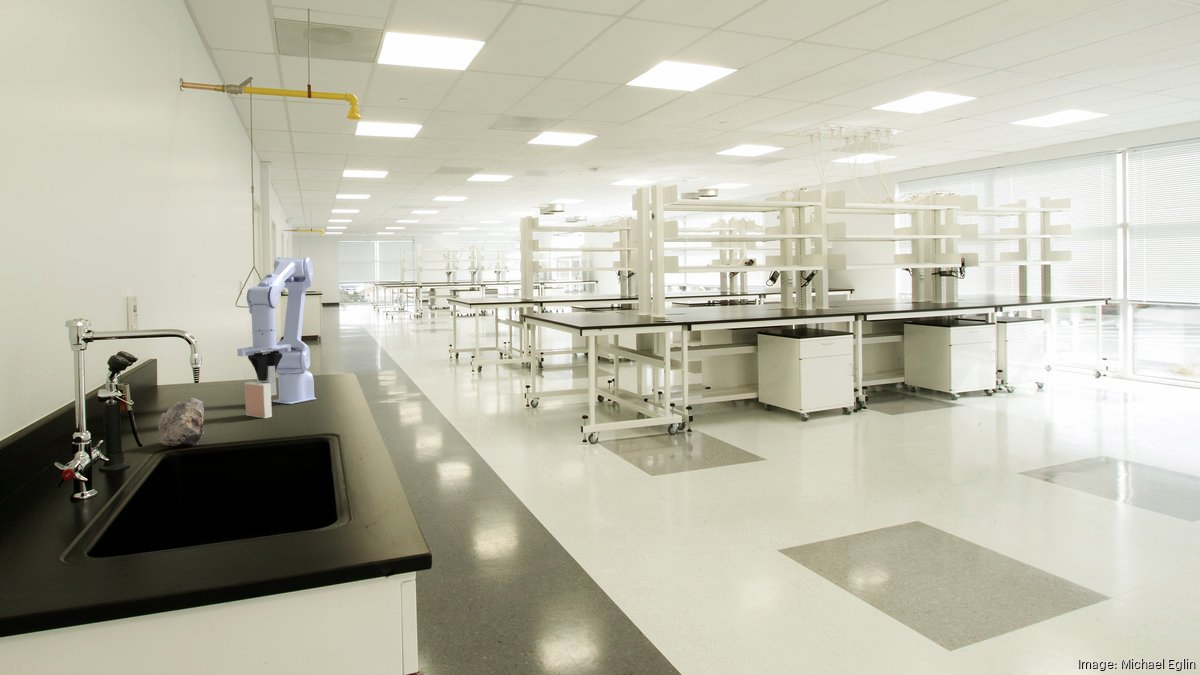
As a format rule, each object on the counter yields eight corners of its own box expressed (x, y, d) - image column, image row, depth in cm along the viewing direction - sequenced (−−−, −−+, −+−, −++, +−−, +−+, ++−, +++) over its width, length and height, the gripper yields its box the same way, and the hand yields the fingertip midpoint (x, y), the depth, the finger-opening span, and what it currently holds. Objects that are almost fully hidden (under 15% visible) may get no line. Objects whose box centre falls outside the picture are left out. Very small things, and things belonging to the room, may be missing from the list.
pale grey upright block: (264, 393, 179) (262, 365, 179) (276, 394, 177) (274, 365, 176) (258, 394, 178) (256, 365, 177) (270, 395, 175) (268, 366, 175)
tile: (252, 413, 178) (251, 381, 177) (271, 416, 175) (270, 383, 174) (245, 415, 176) (243, 382, 175) (264, 418, 173) (262, 384, 172)
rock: (155, 460, 143) (159, 431, 137) (156, 419, 150) (160, 390, 144) (203, 458, 148) (209, 430, 143) (202, 419, 155) (208, 391, 150)
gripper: (248, 333, 168) (251, 384, 169) (297, 329, 180) (299, 377, 182) (231, 331, 171) (233, 382, 172) (280, 328, 184) (282, 375, 185)
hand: (266, 380), depth 177 cm, fingers closed on pale grey upright block, 2 cm apart
